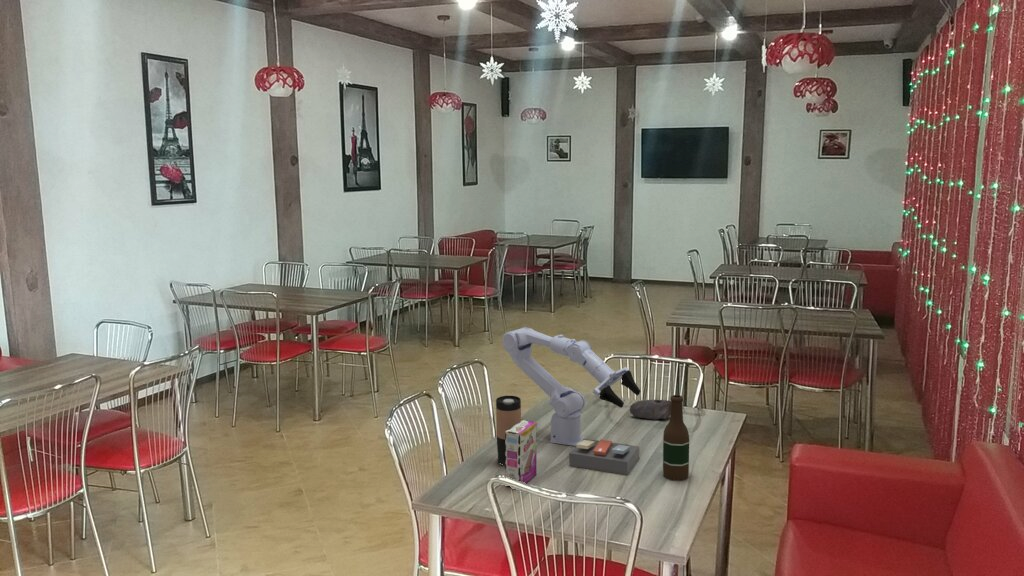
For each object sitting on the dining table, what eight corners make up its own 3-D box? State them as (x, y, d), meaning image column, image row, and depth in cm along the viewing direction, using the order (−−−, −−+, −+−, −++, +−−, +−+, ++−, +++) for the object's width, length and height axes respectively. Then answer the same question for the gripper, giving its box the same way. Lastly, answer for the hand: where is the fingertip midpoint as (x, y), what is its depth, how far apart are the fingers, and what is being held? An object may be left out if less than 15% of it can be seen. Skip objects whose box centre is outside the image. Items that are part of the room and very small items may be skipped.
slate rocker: (611, 452, 224) (611, 449, 224) (618, 448, 230) (618, 444, 230) (623, 454, 222) (623, 450, 222) (629, 449, 228) (630, 446, 228)
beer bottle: (683, 483, 215) (685, 402, 211) (657, 477, 219) (658, 397, 215) (693, 473, 221) (694, 394, 217) (667, 468, 225) (668, 390, 221)
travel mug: (509, 455, 238) (508, 393, 234) (527, 461, 232) (526, 398, 229) (492, 462, 232) (490, 399, 229) (509, 468, 227) (508, 405, 224)
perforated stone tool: (628, 419, 268) (628, 400, 266) (630, 414, 273) (630, 396, 271) (671, 422, 263) (672, 403, 262) (672, 417, 268) (673, 398, 267)
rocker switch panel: (569, 465, 228) (569, 452, 228) (583, 450, 240) (583, 437, 239) (627, 475, 221) (627, 461, 220) (639, 458, 232) (639, 445, 232)
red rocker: (593, 453, 226) (593, 450, 226) (600, 442, 232) (600, 439, 232) (605, 455, 224) (604, 452, 224) (612, 444, 230) (612, 440, 230)
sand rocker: (576, 447, 228) (576, 443, 228) (584, 443, 235) (584, 439, 235) (587, 449, 227) (587, 445, 227) (595, 444, 233) (595, 441, 233)
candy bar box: (520, 489, 213) (519, 434, 210) (505, 486, 215) (503, 431, 212) (538, 474, 222) (537, 421, 220) (522, 471, 225) (521, 419, 222)
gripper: (586, 373, 230) (618, 403, 224) (617, 351, 237) (649, 380, 231) (581, 386, 235) (612, 416, 229) (612, 365, 242) (643, 393, 236)
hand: (630, 399), depth 230 cm, fingers open, 7 cm apart
